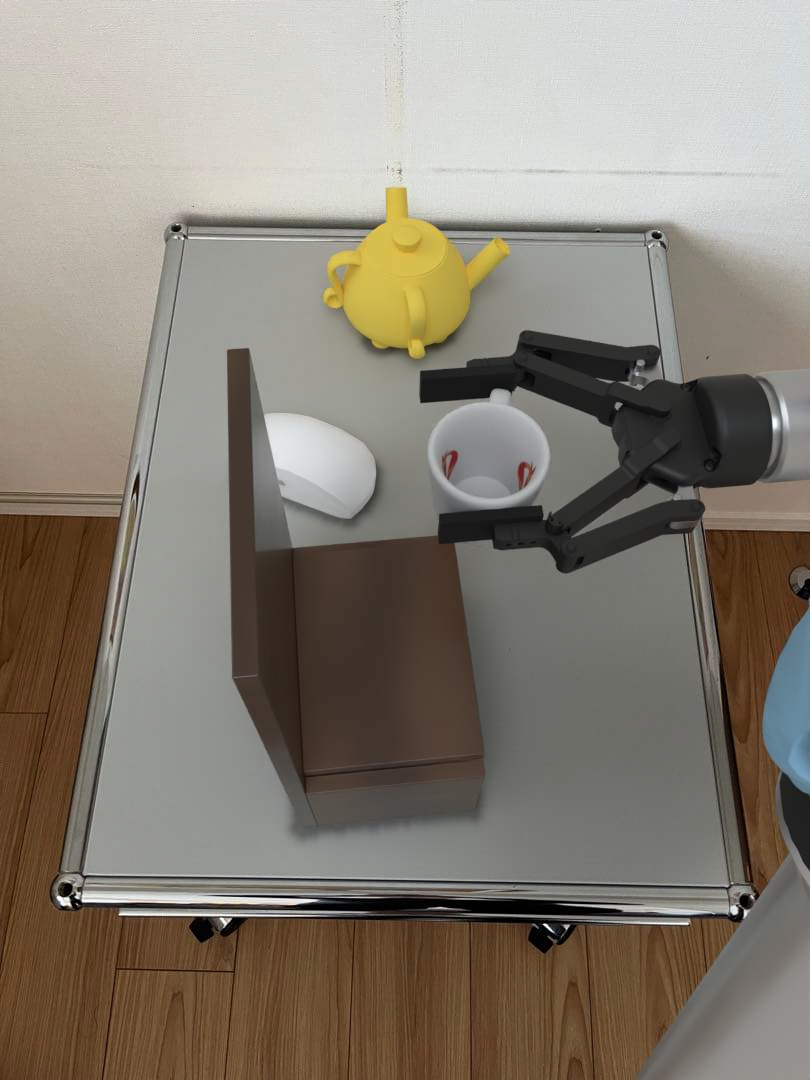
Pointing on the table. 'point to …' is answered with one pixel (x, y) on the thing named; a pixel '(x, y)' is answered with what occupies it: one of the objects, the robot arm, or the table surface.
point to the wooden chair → (346, 651)
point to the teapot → (407, 280)
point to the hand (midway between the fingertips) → (429, 455)
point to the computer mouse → (320, 464)
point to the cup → (486, 458)
